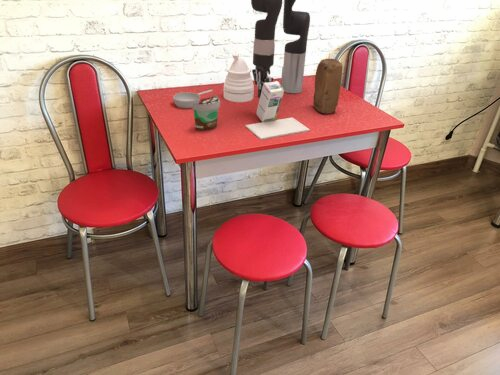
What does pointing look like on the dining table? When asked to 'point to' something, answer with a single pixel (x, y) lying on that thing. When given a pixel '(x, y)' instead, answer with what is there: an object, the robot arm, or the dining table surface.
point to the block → (327, 85)
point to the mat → (277, 128)
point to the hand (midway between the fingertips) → (261, 98)
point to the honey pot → (238, 82)
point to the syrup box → (270, 101)
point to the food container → (206, 113)
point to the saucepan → (187, 99)
